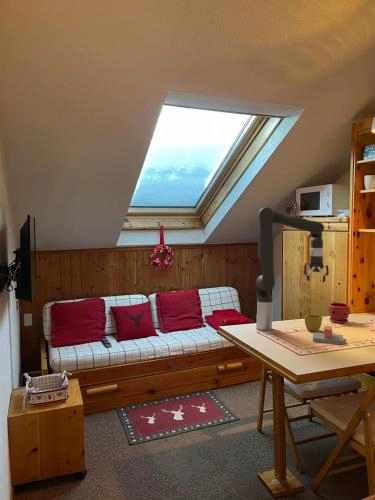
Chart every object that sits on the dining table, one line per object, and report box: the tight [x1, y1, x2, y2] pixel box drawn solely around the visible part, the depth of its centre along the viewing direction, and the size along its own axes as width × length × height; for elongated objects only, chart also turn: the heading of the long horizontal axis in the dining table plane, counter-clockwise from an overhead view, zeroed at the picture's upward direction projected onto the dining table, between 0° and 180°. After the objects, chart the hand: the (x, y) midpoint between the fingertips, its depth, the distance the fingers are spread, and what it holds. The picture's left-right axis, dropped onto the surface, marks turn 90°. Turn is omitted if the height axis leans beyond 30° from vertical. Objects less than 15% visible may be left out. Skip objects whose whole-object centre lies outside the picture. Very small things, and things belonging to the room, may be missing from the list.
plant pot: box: [328, 302, 351, 324], centre depth 265 cm, size 13×13×12 cm
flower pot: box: [304, 313, 323, 333], centre depth 245 cm, size 9×9×9 cm
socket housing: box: [323, 325, 333, 339], centre depth 224 cm, size 4×8×5 cm, turn 162°
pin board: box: [312, 332, 345, 345], centre depth 224 cm, size 16×12×5 cm
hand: (315, 281), depth 243 cm, fingers open, 8 cm apart
